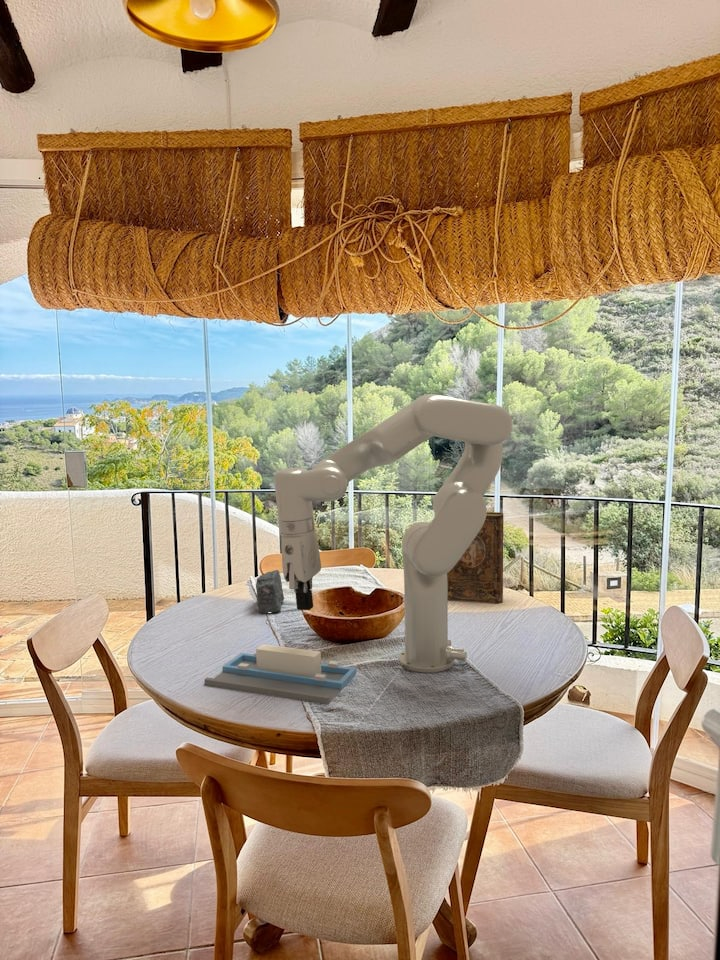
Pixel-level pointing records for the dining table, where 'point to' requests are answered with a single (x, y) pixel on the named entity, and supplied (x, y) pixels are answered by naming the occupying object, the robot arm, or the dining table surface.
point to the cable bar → (288, 660)
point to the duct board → (282, 680)
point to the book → (480, 566)
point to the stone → (269, 592)
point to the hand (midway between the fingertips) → (305, 608)
